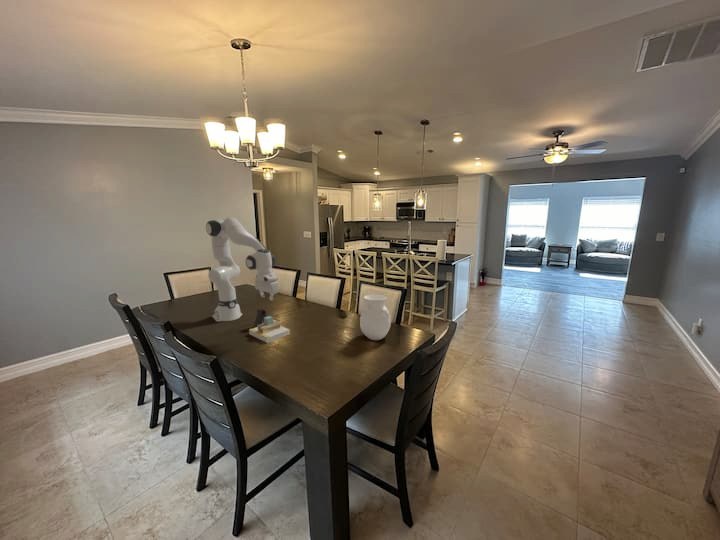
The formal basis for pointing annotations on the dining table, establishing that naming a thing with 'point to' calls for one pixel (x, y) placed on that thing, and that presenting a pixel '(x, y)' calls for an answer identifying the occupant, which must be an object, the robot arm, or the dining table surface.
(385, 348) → the dining table surface
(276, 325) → the pallet
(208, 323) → the dining table surface
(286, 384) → the dining table surface
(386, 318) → the white vase
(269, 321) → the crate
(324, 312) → the dining table surface
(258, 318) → the phone stand
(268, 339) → the dock
